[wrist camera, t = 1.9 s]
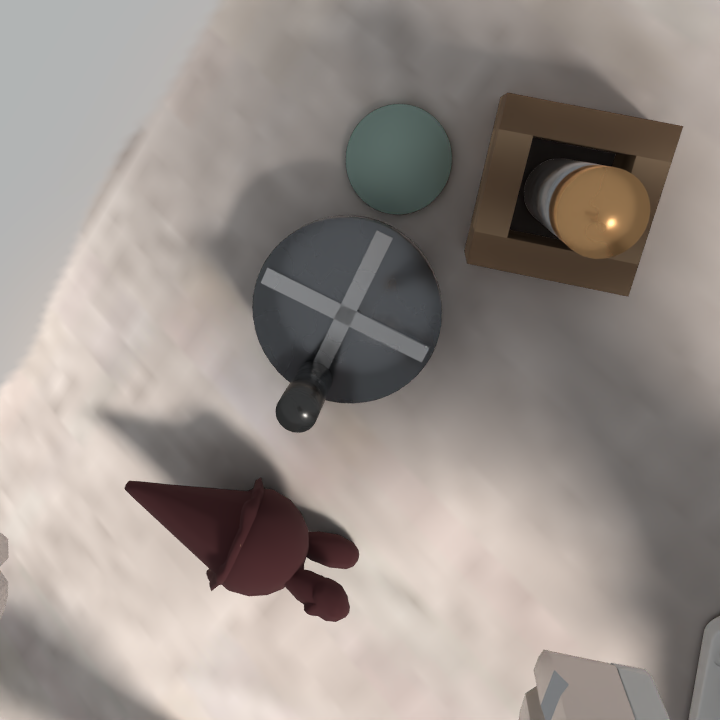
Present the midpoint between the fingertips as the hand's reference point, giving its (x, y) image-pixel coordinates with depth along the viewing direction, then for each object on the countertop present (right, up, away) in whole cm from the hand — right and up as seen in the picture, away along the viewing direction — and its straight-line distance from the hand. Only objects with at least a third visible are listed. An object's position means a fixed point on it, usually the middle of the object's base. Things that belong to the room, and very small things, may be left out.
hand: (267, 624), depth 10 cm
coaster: (+3, +15, +26) cm, 30 cm away
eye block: (+12, +13, +26) cm, 31 cm away
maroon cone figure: (-5, -6, +34) cm, 35 cm away
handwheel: (+1, +7, +27) cm, 28 cm away
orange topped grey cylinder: (+12, +13, +26) cm, 31 cm away
